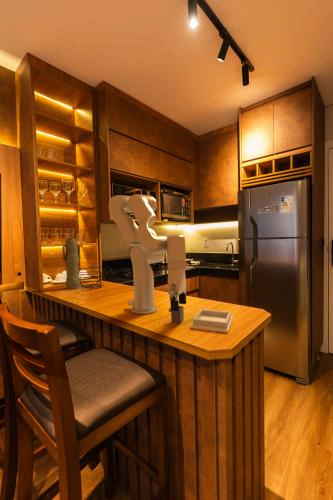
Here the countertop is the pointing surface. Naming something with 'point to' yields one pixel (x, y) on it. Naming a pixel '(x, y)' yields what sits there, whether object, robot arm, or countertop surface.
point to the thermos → (71, 263)
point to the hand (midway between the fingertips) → (178, 307)
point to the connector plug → (177, 315)
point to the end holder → (212, 320)
